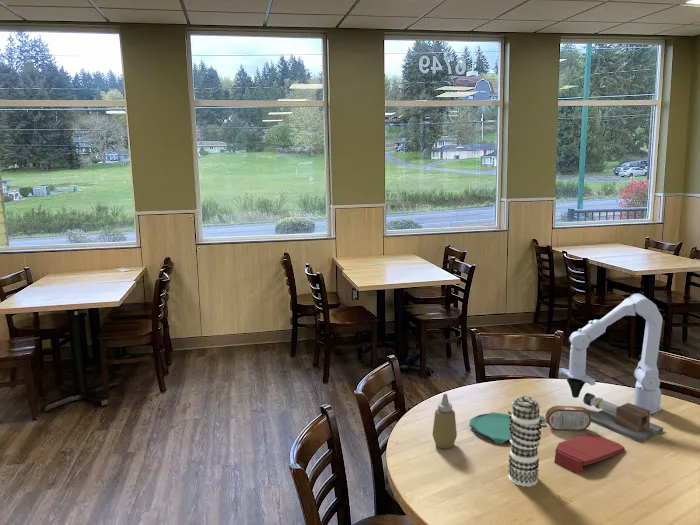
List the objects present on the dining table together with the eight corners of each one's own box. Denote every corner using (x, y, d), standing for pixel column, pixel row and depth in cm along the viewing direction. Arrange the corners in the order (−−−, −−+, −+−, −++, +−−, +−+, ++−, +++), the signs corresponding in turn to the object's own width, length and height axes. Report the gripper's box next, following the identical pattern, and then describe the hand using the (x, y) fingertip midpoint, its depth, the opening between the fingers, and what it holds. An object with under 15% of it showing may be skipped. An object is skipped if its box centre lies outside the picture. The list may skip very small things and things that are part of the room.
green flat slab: (458, 425, 197) (458, 419, 197) (519, 408, 211) (519, 402, 211) (498, 450, 180) (498, 444, 180) (561, 429, 194) (561, 423, 194)
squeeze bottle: (459, 441, 186) (460, 391, 183) (453, 452, 179) (454, 401, 175) (436, 436, 189) (436, 387, 186) (429, 448, 182) (429, 396, 179)
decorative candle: (535, 490, 157) (539, 409, 153) (503, 481, 162) (505, 402, 158) (542, 475, 165) (546, 397, 160) (511, 467, 170) (514, 390, 165)
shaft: (590, 402, 208) (590, 391, 208) (635, 420, 193) (636, 409, 193) (582, 405, 206) (583, 394, 205) (628, 423, 191) (629, 412, 190)
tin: (588, 428, 194) (590, 405, 192) (591, 432, 191) (593, 409, 189) (544, 426, 195) (545, 404, 194) (546, 431, 192) (547, 408, 191)
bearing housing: (609, 409, 207) (610, 391, 206) (662, 430, 191) (664, 411, 189) (586, 419, 200) (587, 400, 199) (639, 442, 183) (641, 422, 182)
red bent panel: (589, 446, 189) (548, 460, 173) (591, 432, 188) (550, 445, 173) (624, 461, 179) (584, 477, 164) (626, 446, 179) (586, 461, 164)
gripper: (554, 359, 213) (552, 392, 215) (588, 371, 201) (585, 406, 203) (566, 356, 216) (564, 388, 219) (599, 367, 204) (597, 401, 207)
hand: (575, 396), depth 211 cm, fingers closed
